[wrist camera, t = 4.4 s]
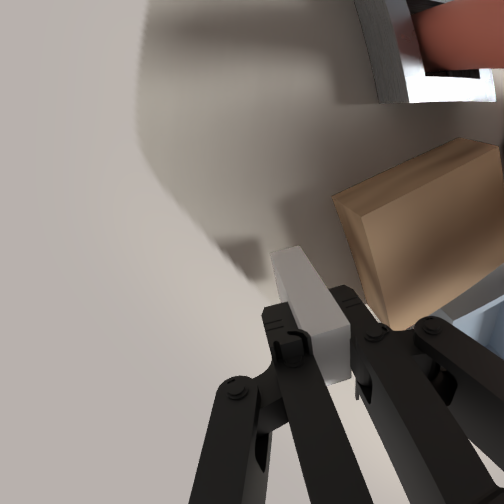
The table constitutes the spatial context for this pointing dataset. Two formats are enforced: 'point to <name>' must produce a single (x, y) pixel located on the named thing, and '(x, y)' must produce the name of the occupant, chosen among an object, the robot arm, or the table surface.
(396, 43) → the socket
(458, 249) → the cardboard box
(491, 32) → the dowel
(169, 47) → the table surface
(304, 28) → the table surface
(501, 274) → the tray
